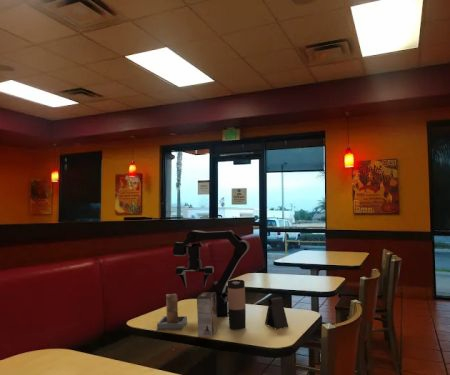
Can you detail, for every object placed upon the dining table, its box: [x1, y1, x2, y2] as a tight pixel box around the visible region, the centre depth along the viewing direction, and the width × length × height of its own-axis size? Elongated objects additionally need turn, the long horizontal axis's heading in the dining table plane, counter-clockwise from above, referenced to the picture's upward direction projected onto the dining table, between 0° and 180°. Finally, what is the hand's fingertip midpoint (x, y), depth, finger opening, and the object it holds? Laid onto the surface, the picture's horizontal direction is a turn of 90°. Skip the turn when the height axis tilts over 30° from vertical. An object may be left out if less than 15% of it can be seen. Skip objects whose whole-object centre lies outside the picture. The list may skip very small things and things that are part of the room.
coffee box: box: [196, 291, 218, 338], centre depth 160 cm, size 9×6×16 cm
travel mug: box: [227, 279, 247, 331], centre depth 166 cm, size 8×8×20 cm
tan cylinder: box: [165, 293, 179, 323], centre depth 171 cm, size 4×4×13 cm
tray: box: [156, 315, 188, 331], centre depth 171 cm, size 11×11×2 cm
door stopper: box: [264, 296, 289, 330], centre depth 167 cm, size 9×6×12 cm, turn 29°
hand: (195, 287), depth 188 cm, fingers open, 9 cm apart
